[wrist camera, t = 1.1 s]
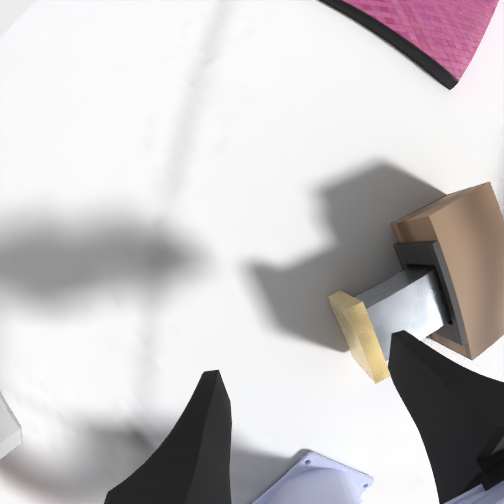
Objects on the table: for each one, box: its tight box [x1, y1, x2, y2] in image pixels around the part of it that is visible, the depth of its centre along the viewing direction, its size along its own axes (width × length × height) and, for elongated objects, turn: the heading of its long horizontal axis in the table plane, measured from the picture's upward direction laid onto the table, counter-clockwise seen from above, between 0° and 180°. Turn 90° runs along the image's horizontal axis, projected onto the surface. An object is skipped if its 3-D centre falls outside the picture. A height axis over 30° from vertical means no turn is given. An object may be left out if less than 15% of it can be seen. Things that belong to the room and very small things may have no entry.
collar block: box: [391, 182, 504, 360], centre depth 18 cm, size 6×10×6 cm, turn 25°
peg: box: [328, 264, 452, 383], centre depth 18 cm, size 8×5×5 cm, turn 115°
